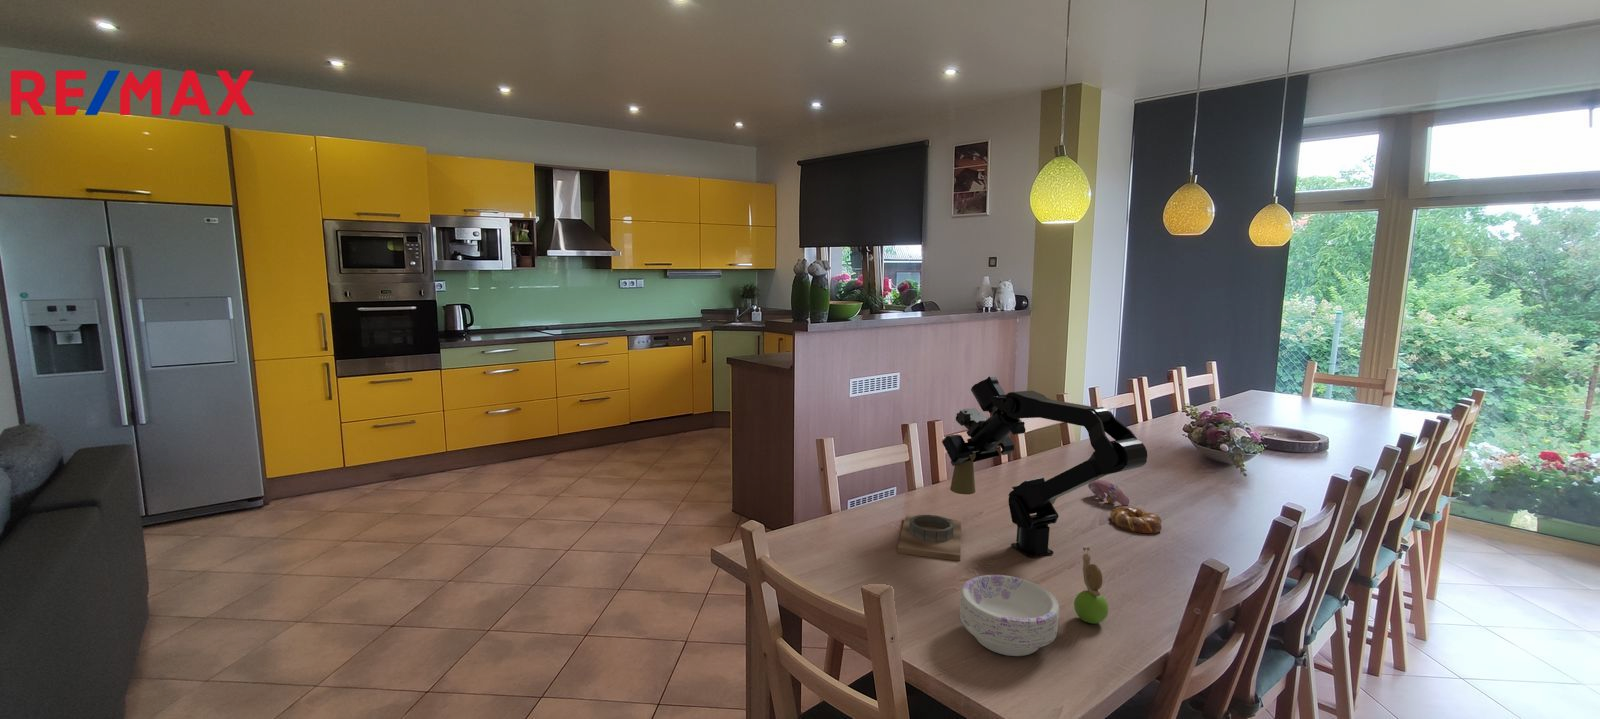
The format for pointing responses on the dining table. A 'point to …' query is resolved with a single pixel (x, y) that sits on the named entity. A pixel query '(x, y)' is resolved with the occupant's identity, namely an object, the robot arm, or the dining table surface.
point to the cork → (964, 477)
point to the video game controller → (1108, 492)
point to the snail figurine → (1091, 594)
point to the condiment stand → (931, 537)
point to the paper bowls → (1009, 614)
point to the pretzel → (1136, 520)
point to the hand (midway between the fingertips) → (960, 462)
